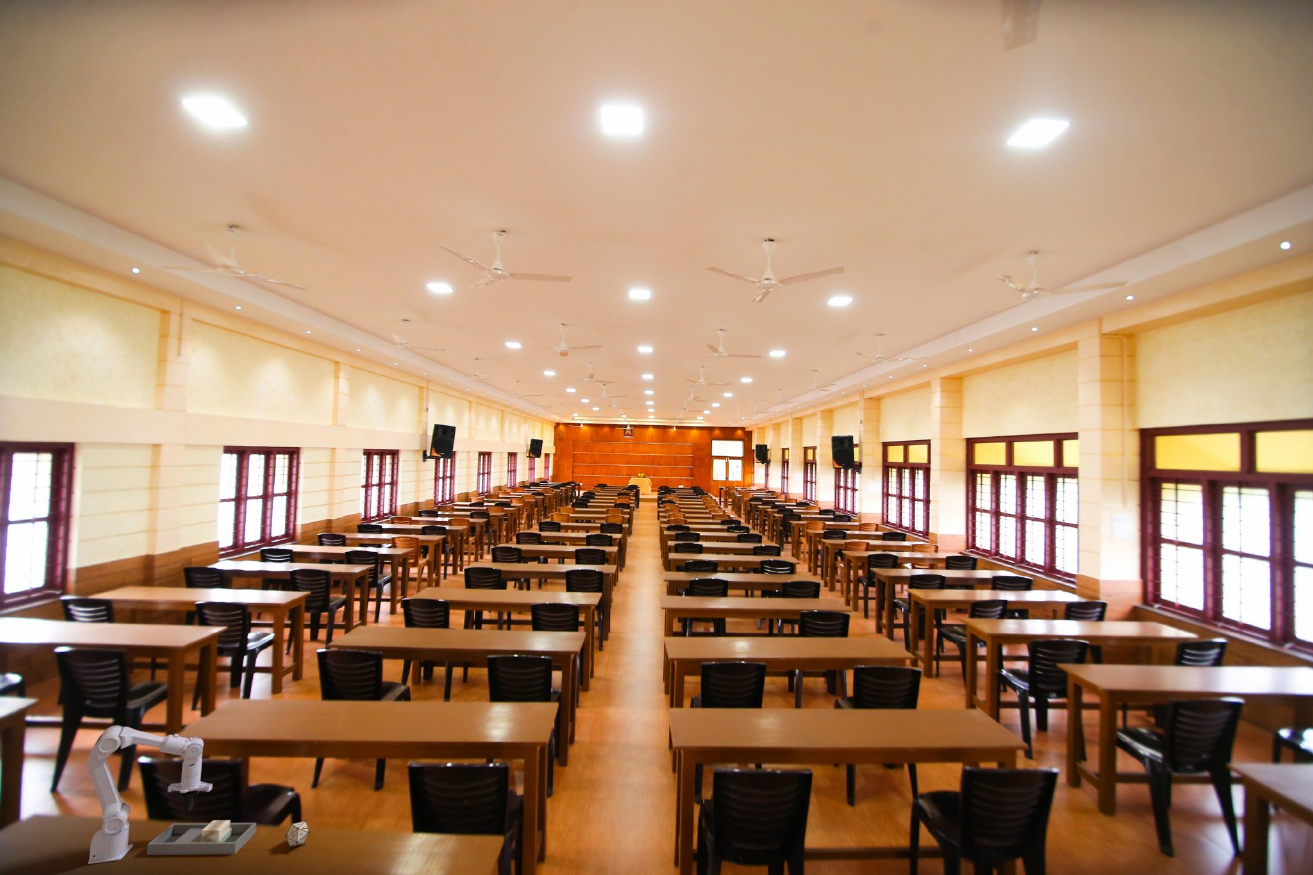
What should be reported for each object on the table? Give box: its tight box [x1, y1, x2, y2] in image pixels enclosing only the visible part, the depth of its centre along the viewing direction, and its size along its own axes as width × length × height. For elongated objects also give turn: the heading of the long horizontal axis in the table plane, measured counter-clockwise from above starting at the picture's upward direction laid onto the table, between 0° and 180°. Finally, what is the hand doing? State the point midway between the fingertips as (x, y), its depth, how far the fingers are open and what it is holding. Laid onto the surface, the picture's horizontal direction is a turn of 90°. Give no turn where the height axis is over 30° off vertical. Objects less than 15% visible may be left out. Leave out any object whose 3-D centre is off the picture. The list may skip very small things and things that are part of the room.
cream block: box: [201, 819, 231, 842], centre depth 213 cm, size 6×6×4 cm
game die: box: [284, 818, 312, 850], centre depth 214 cm, size 9×8×10 cm
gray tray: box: [146, 822, 257, 856], centre depth 212 cm, size 30×12×4 cm, turn 94°
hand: (188, 810), depth 216 cm, fingers closed
